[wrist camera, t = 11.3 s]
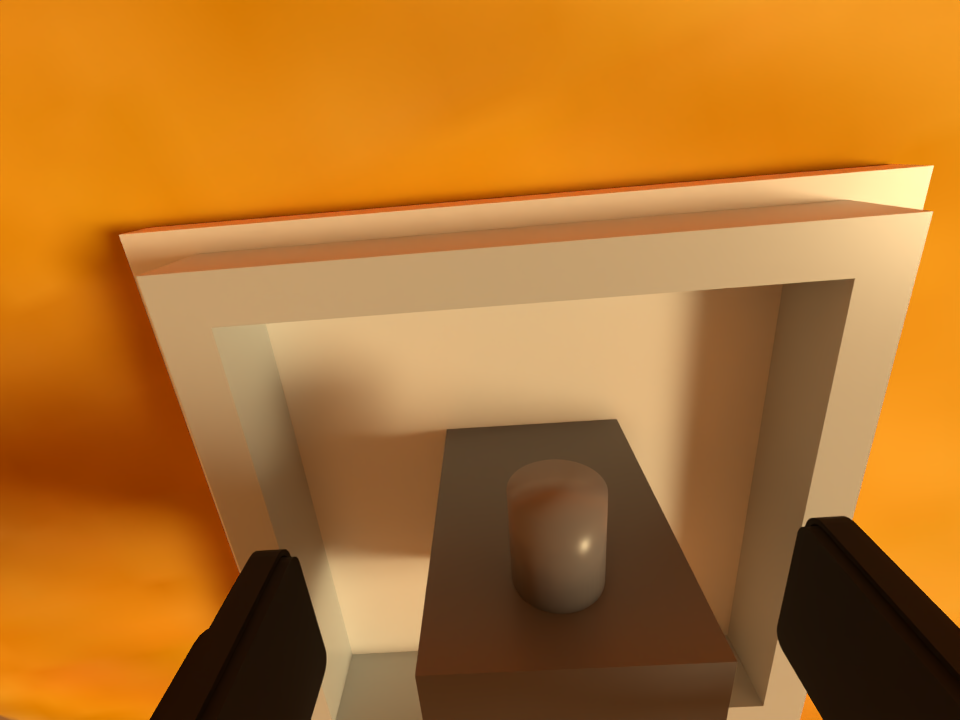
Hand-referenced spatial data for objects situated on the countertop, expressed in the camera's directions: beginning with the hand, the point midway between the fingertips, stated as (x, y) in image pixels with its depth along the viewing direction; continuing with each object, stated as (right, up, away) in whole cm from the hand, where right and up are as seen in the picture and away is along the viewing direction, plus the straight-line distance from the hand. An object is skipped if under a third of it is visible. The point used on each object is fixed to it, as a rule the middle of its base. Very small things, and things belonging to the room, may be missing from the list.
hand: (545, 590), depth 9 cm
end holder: (0, +1, +4) cm, 4 cm away
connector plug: (0, +1, +3) cm, 3 cm away
